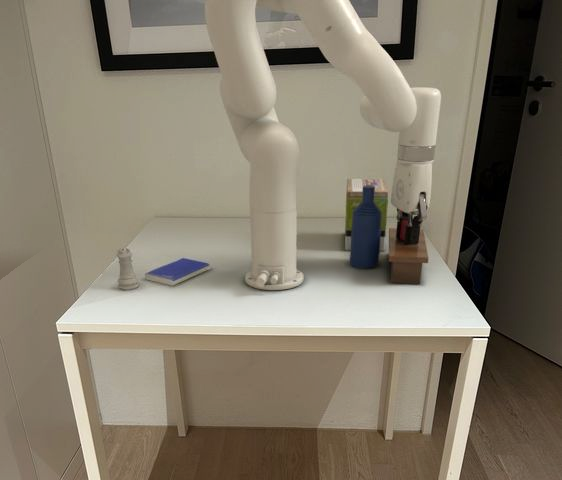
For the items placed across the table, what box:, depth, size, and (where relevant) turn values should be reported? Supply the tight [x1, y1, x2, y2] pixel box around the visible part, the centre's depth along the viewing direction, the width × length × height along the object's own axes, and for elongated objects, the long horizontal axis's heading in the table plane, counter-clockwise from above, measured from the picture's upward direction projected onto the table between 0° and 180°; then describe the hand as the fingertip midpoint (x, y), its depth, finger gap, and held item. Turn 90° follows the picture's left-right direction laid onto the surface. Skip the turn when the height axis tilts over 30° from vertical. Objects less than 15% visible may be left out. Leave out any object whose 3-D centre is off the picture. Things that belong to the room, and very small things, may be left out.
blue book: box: [144, 257, 211, 287], centre depth 129 cm, size 2×8×12 cm
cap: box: [400, 220, 408, 240], centre depth 128 cm, size 4×4×4 cm
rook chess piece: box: [115, 247, 140, 291], centre depth 121 cm, size 4×4×8 cm
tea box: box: [344, 178, 389, 252], centre depth 146 cm, size 15×10×15 cm, turn 175°
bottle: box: [349, 185, 382, 270], centre depth 131 cm, size 7×7×18 cm
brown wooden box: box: [388, 227, 429, 285], centre depth 131 cm, size 22×8×6 cm, turn 171°
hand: (407, 240), depth 129 cm, fingers closed on cap, 3 cm apart
